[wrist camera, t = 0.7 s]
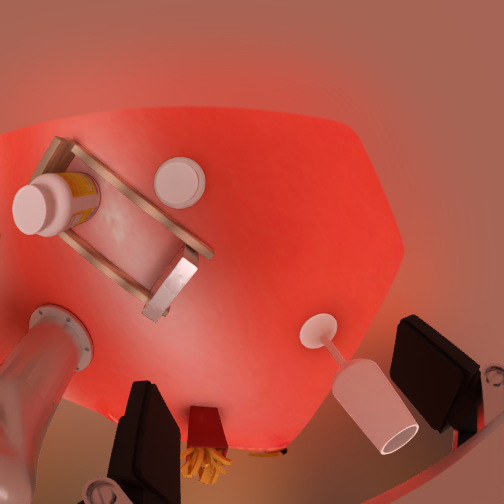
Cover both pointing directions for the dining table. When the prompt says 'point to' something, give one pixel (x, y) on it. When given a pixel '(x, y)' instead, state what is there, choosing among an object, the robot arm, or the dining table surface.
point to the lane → (60, 159)
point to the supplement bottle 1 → (55, 203)
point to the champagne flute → (363, 390)
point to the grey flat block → (171, 282)
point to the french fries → (205, 445)
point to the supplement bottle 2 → (179, 182)
